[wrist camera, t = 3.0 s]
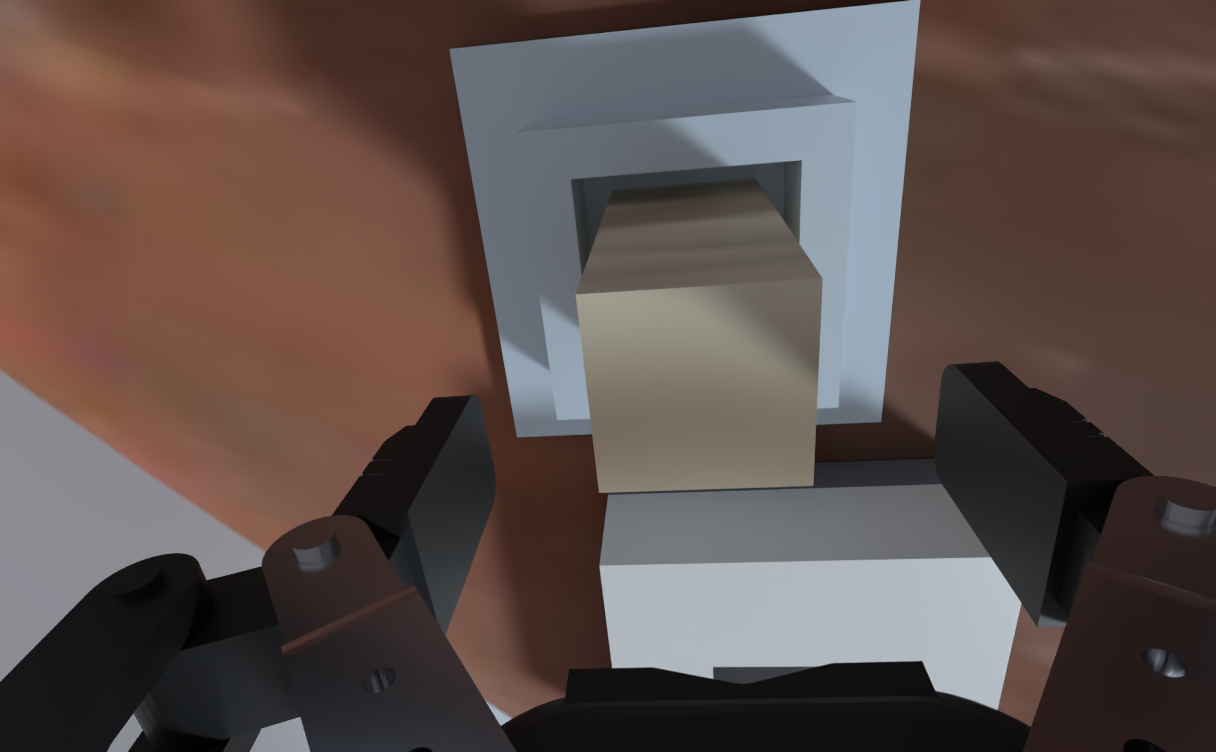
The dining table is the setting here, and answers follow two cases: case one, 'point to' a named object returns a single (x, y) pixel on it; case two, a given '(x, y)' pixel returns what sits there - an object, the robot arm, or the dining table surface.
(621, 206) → the beech peg
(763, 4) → the dining table surface
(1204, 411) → the dining table surface
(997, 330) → the dining table surface
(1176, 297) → the dining table surface
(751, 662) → the box
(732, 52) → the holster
